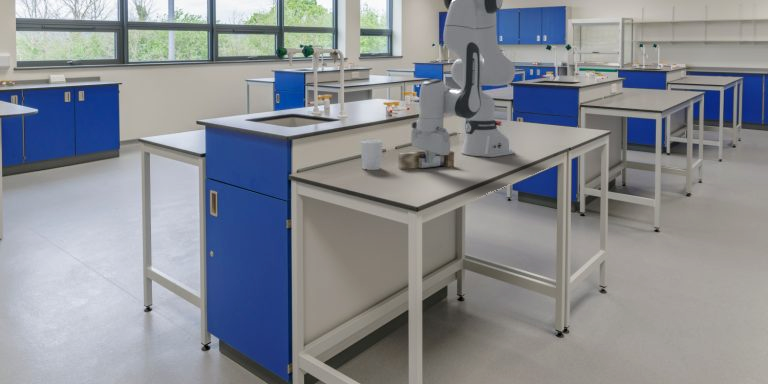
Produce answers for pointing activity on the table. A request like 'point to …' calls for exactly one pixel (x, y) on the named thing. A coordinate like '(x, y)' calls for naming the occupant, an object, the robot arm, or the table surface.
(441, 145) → the robot arm
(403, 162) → the wooden l-bracket
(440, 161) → the crank handle
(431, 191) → the table surface
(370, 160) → the white cup
